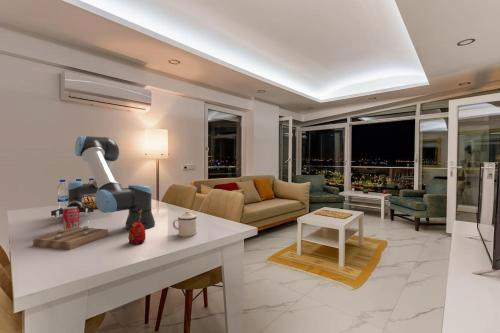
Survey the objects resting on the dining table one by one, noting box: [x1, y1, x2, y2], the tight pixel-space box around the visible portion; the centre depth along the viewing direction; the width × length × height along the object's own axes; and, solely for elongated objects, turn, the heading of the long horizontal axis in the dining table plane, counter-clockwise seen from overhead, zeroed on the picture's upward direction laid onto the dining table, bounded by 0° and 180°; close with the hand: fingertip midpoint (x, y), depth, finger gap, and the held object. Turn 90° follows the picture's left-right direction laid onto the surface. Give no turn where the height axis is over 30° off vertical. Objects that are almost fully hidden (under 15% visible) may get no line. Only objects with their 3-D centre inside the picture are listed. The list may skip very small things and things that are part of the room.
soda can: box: [62, 206, 80, 230], centre depth 134 cm, size 7×7×12 cm
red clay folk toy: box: [128, 210, 147, 245], centre depth 115 cm, size 8×7×15 cm
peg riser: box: [32, 225, 109, 250], centre depth 117 cm, size 20×20×4 cm
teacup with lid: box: [172, 210, 197, 238], centre depth 127 cm, size 12×9×12 cm
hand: (72, 214), depth 142 cm, fingers open, 13 cm apart
